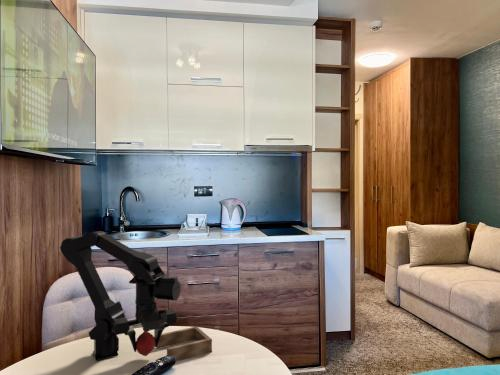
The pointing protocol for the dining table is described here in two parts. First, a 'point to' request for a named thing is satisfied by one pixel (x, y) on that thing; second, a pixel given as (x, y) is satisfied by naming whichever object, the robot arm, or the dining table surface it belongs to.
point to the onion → (145, 343)
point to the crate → (186, 350)
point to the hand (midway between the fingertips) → (145, 349)
